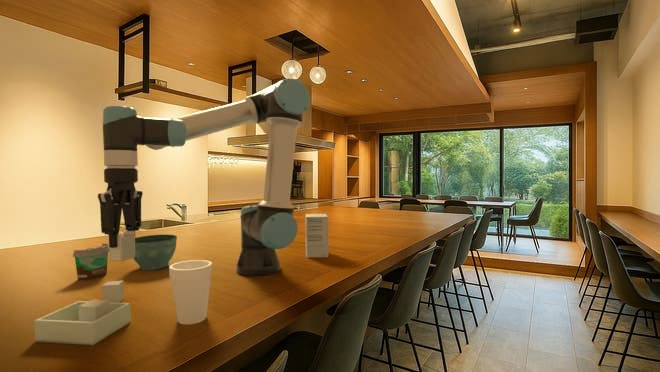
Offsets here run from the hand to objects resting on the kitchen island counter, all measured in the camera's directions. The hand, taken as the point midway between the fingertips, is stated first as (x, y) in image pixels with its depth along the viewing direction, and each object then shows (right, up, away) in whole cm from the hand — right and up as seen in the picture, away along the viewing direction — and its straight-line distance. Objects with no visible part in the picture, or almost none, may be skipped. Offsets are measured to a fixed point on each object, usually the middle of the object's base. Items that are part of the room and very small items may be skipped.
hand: (123, 257), depth 93 cm
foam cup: (+21, -13, -8) cm, 26 cm away
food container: (-25, -12, +28) cm, 39 cm away
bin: (0, -13, -14) cm, 20 cm away
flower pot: (-11, -12, +40) cm, 43 cm away
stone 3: (-5, -13, +5) cm, 15 cm away
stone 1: (+2, -13, -15) cm, 20 cm away
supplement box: (+48, -11, +57) cm, 76 cm away
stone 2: (0, 0, 0) cm, 0 cm away
